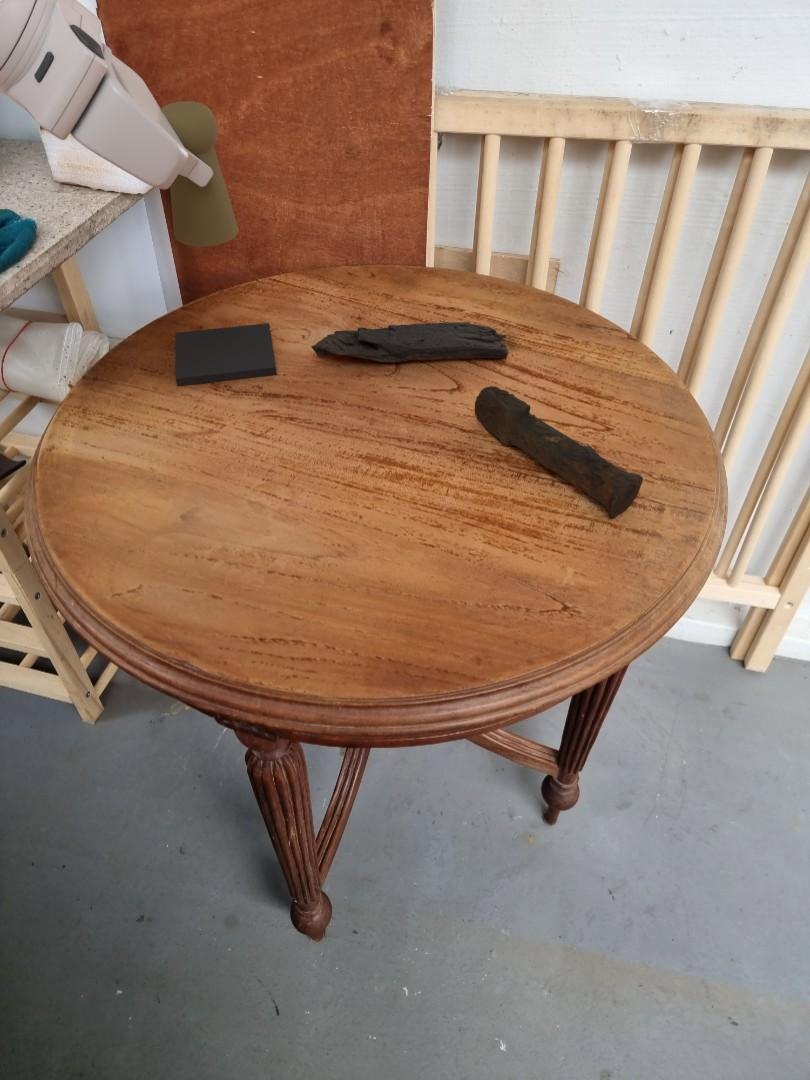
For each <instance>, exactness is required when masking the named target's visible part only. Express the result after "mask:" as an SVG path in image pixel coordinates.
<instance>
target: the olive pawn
mask: <svg viewBox="0 0 810 1080" xmlns="http://www.w3.org/2000/svg"><path fill="white" fill-rule="evenodd" d="M160 108H161V110H162V112H163V114H164V115H165V117H166V118H167V120H168V121H169V123H170V125H171V126H172V128H173V130H174V131H175V133H176V134H177V136H178V138H179V139H180V141H181V143H182V144H183V146H184V147H185V148H186V149H187V150H188V151H190V152H191V153H192V154H196V155H197V156H198V157H200V158H201V159H202V160H204V161H205V162H206V163H208V165H209V166H210V167H211V169H212V171H213V176H212V178H211V179H210V181H209V182H208V183H207V185H206V186H204V187H200V186H198V185H197V184H196V183H194V182H193V181H191V180H190V179H189V178H187V177H184V176H182V175H180V174H178V176H177V177H176V179H175V180H174V182H173V183H172V184H171V186H170V187H169V190H170V202H171V212H172V213H171V214H172V225H173V234H174V238H175V240H176V241H177V242H178V243H180V244H182V245H185V246H190V247H194V248H195V247H196V248H203V247H204V248H206V247H214V246H219V245H223V244H226V243H228V242H229V241H231V240H233V239H234V238H235V237H236V236H237V235H238V233H239V226H238V222H237V219H236V216H235V212H234V209H233V206H232V202H231V198H230V196H229V192H228V188H227V185H226V182H225V178H224V175H223V172H222V168H221V165H220V162H219V159H218V156H217V151H216V149H215V143H216V141H217V139H218V133H219V130H218V123H217V120H216V118H215V115H214V113H213V112H212V110H211V109H210V107H208V105H205V104H203V103H201V102H198V101H190V100H189V101H185V100H184V101H175V102H172V103H169V104H165V106H162V107H160Z"/></svg>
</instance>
